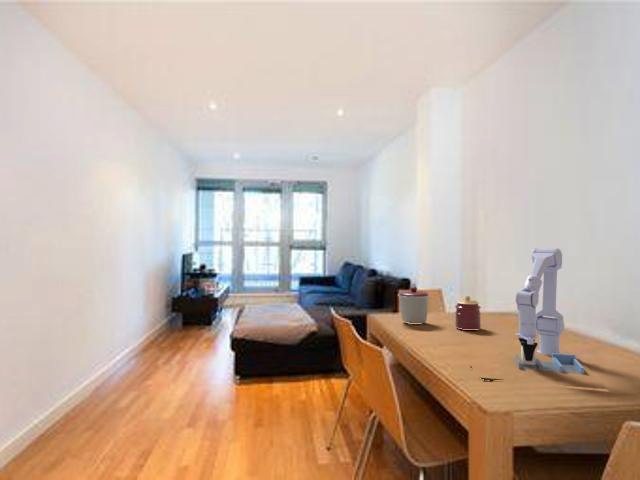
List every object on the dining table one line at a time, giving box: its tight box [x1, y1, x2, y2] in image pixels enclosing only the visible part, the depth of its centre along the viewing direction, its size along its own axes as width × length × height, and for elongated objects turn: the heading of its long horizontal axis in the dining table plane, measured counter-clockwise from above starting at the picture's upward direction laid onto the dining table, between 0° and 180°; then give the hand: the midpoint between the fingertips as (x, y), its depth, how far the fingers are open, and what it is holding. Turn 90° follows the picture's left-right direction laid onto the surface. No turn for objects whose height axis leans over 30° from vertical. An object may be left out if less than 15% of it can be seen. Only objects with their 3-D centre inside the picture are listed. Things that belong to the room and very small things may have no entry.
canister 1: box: [397, 286, 431, 324], centre depth 239 cm, size 18×18×21 cm
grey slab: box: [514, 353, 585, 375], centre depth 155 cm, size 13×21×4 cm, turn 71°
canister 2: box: [454, 295, 482, 330], centre depth 223 cm, size 13×13×18 cm
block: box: [520, 344, 536, 365], centre depth 157 cm, size 4×4×6 cm
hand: (527, 358), depth 157 cm, fingers closed on block, 4 cm apart
